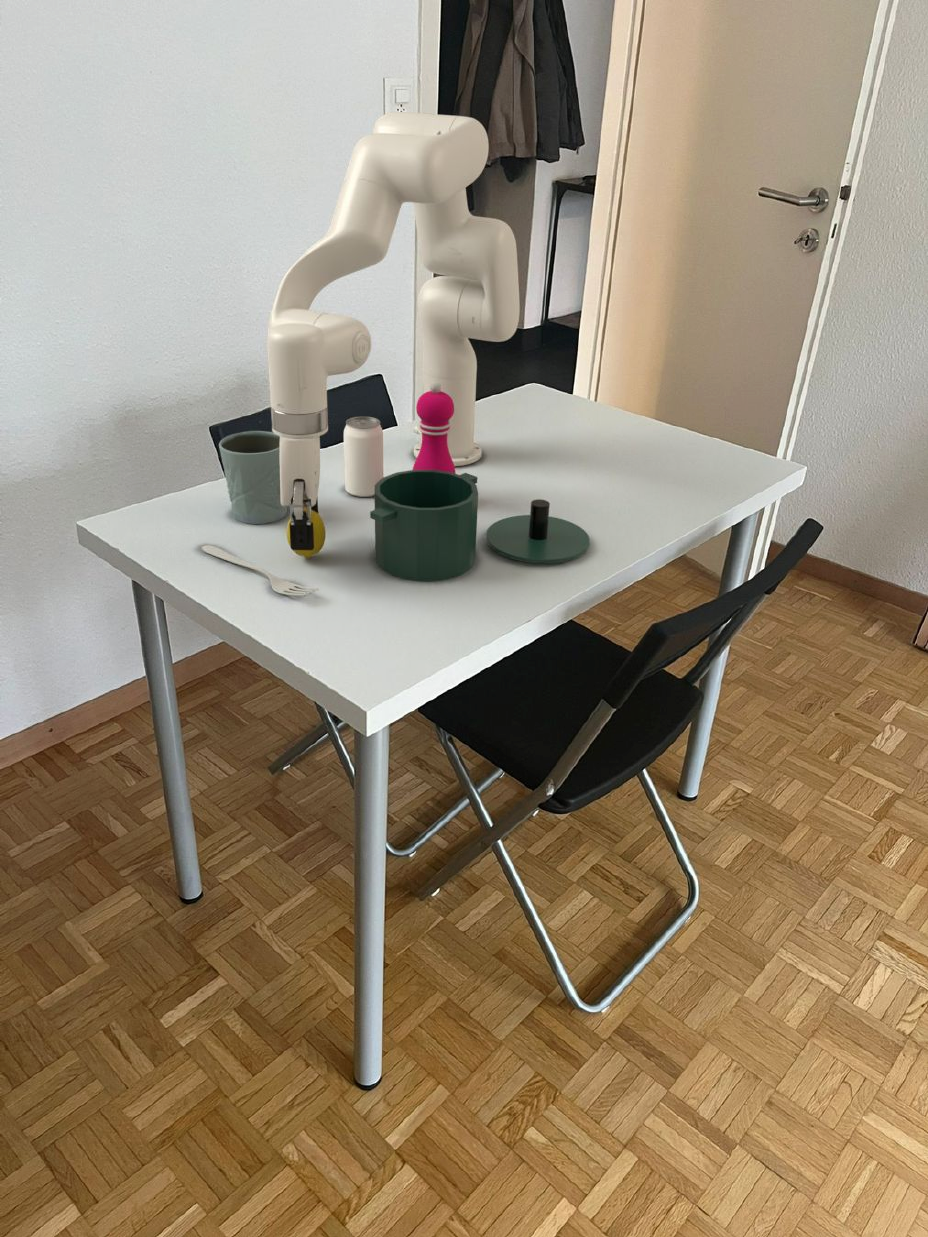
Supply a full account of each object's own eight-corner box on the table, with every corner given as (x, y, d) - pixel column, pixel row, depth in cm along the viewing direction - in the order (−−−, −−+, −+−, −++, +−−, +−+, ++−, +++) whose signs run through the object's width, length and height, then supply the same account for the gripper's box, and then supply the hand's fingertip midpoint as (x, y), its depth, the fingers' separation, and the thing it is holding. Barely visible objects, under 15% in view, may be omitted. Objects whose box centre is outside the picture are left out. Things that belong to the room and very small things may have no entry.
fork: (212, 543, 146) (211, 532, 145) (322, 599, 132) (321, 587, 131) (194, 550, 144) (193, 539, 143) (304, 607, 130) (303, 596, 129)
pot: (341, 564, 141) (339, 494, 136) (433, 523, 155) (435, 457, 149) (415, 598, 133) (415, 525, 128) (505, 551, 147) (510, 483, 141)
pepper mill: (402, 499, 162) (403, 381, 152) (433, 488, 167) (435, 372, 157) (433, 513, 158) (436, 392, 148) (464, 500, 163) (468, 382, 153)
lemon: (319, 568, 140) (317, 517, 136) (282, 564, 141) (279, 513, 137) (331, 552, 145) (329, 502, 141) (296, 547, 146) (293, 498, 141)
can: (353, 500, 161) (352, 430, 155) (339, 486, 166) (337, 418, 160) (389, 494, 164) (389, 425, 158) (374, 480, 169) (373, 413, 163)
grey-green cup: (300, 519, 154) (296, 446, 148) (238, 531, 150) (232, 457, 144) (276, 496, 162) (271, 426, 156) (217, 507, 157) (209, 436, 151)
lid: (464, 543, 149) (466, 503, 145) (527, 513, 159) (530, 474, 156) (548, 577, 140) (552, 535, 137) (608, 543, 151) (613, 502, 147)
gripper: (277, 399, 139) (284, 510, 148) (264, 440, 124) (272, 561, 133) (330, 400, 140) (334, 510, 148) (324, 441, 125) (328, 561, 133)
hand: (305, 534), depth 140 cm, fingers open, 9 cm apart
